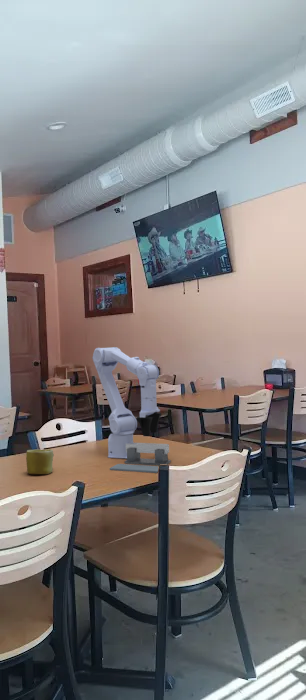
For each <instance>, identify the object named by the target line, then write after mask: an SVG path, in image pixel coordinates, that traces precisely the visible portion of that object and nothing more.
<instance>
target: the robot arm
mask: <svg viewBox="0 0 306 700" xmlns="http://www.w3.org/2000/svg"><path fill="white" fill-rule="evenodd" d="M92 361H93V364H94V366H95V370H96V371H97V374H98V378H99V381H100V383H101V386H102V389H103V391H104V394H105V398H106V399H107V403H108V405H109V408H110V410H111V412H110V414H109V416H108V421H109V429H110V432H111V433H110V434H109V436H108V438H107V445H108V446H107V448H108V449H107V451H108V455H107V458H112V459H113V458H115V459H127V452H126V443H128V442H133V443H134V434H135V430H137V427H138V424H139V426H140V429H141V432H142V435H143V437H150V436H151V434H150V433H152V434H153V433H155V434H156V433H157V432H158V426H159V422H160V419H161V416H162V413H161V408H160V409H159V407H158V406H157V405H158V404H157V400H158V398H157V380H158V378H159V376H160V370H159V368H158V366H157V365H156V364H152V363H151V364H148V362H147V361H144V360H141V359H140V357H139V356H133V357H130V356H129V355H128V354H125V353H124V352H123V351H122V350H121V349H120V348H119V347H116V346H113V347H96V348H95V349H94V351H93V354H92ZM118 364H122V365H124V366H125V367H126V370H127V371H129V372H130V373H132V374H133V375H135V376H136V377H137V379H138V383H139V386H140V404H141V405H140V407H141V409H140V411H139V416H136V417H135V415H134V414H133V413H132V411H131V410H130V409H128V408H126V406H125V404H124V400H123V399H122V396H121V393H120V390H119V388H118V386H117V383H116V381H115V378H114V375H113V371H114V370H115V369H116V368H117V365H118Z"/></svg>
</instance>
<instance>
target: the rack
mask: <svg viewBox="0 0 306 700" xmlns="http://www.w3.org/2000/svg"><path fill="white" fill-rule="evenodd" d="M168 456H169V454H168V453H167V454H163V450H155V453H154V458H142V457H141V453H138V452H135V449H134V448H127V458H126V460H124V464H130V465H146V466H159V465H160V464H167V465H169V464H170V463H172V461H171V460H170V459H169V457H168Z"/></svg>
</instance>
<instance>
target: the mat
mask: <svg viewBox="0 0 306 700" xmlns="http://www.w3.org/2000/svg"><path fill="white" fill-rule="evenodd" d="M158 466H159V465H142V464H126V463H117V464H115V465H113V466H111V467H110V468H109V471H122V472H137V473H151V474H152V473H154V474H158V473H159V472H158ZM157 472H158V473H157Z"/></svg>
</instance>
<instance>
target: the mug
mask: <svg viewBox="0 0 306 700" xmlns="http://www.w3.org/2000/svg"><path fill="white" fill-rule="evenodd" d="M54 454H55V453H54V449H51V448H48V449H27V450H26V456H25V457H26V472H27V474H28V475H48V474H51V473H52V472H53V461H54V456H55V455H54Z"/></svg>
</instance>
